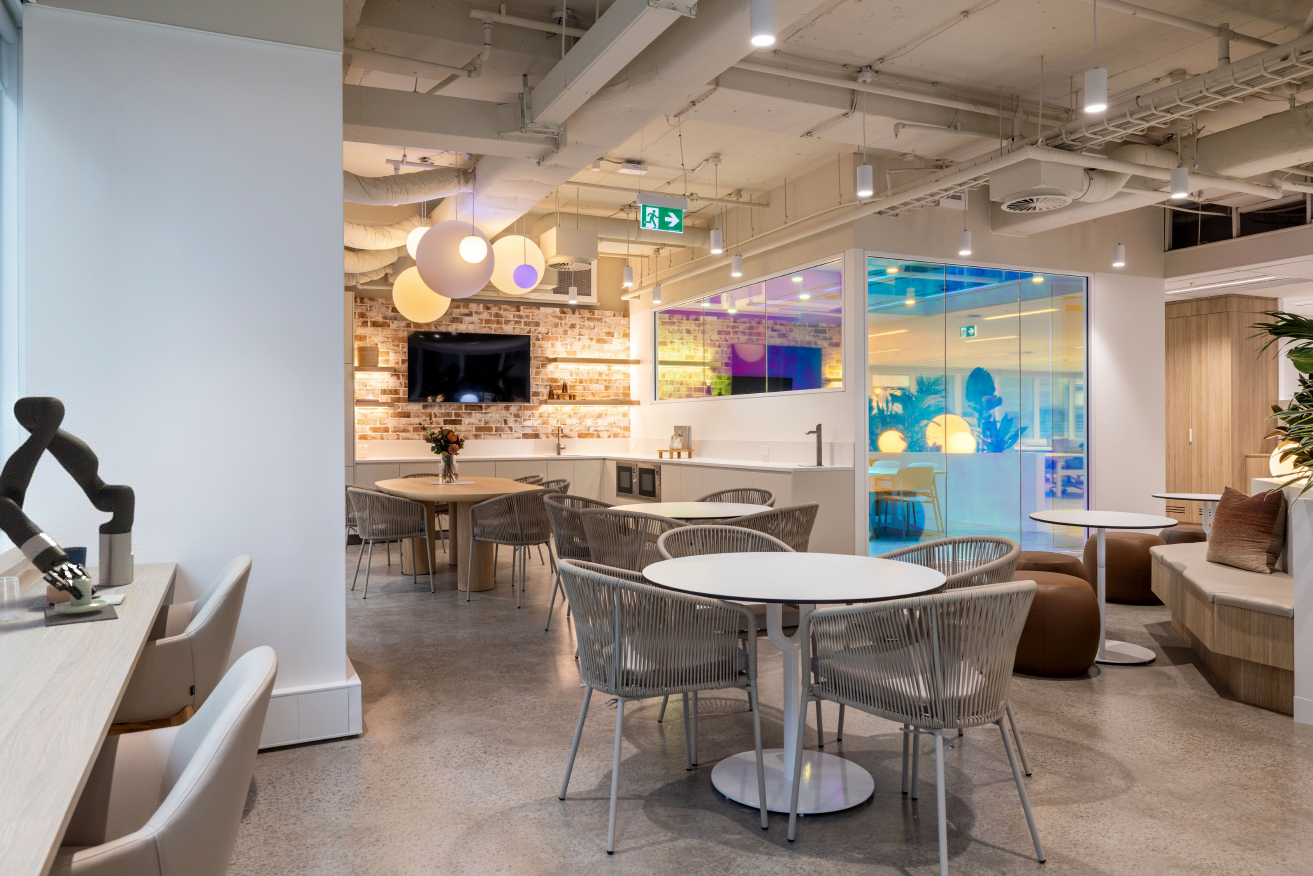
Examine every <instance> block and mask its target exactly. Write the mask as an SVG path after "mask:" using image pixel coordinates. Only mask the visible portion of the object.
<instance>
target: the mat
mask: <svg viewBox="0 0 1313 876" xmlns="http://www.w3.org/2000/svg"><path fill="white" fill-rule="evenodd" d="M104 619H105V620H104ZM106 619H110V620H116V619H119V616H118V613H117V612H116V609H115V607H114V605H113V603H112V604H108V605H106V607H105V608H103V609H100V610H95V611H90V612H82V613H57V612H55V608H47V609H45V620H46V621H45V623H46V627H52V626H53V625H55V626H63V625H62V624H64V625H70V624H71V623H73V624H80V623H79V622H82V623H88V622H87V621H91V622H94V621H93V620H101V621H107V620H106ZM71 625H72V624H71ZM53 627H54V626H53Z"/></svg>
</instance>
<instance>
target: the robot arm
mask: <svg viewBox="0 0 1313 876" xmlns="http://www.w3.org/2000/svg"><path fill="white" fill-rule="evenodd" d="M13 406H14V407H13V414H14V417H15V419H16V421H17V422H18V424H19V425H20V426H21V427H22V428H23V429H25V430H26V431H27V432H28V433H29V434H30V435H29V437H28V438H27V439H26V440H25V441H24V442H23V444H21V445H20V446H19V447H18V448H16V450H15V451H14V452H13V453H12V454H11V455H10V456H9V457H8V459H7V461H6V462H5V464H4V465H3V469H2V470H1V473H0V530H1V531H3V532H4V533H5V535H7V537H8V539H9V540H10V541H11V542H12V544H14V545H15V546H16V547H17V549H19V550H20V551H21V553H22V554H23V556H25V558H26V559H27V560H29V562H30V563H31V564H32V565H33V566H35V567H36V568H37V570H39V571H40V573H41V574H44V576H43V577H42V579H43V580H44V581H45V582H46V583H48V584H49V585H52V586H53V587H55V588H56V589H57V590H59V591H63V590H64V591H66V592H69V593H70V594H71V595H72V596H73V597H74V598H75V599H76V600H81V599H82V598H83V597H84V593H83V592H82V591H81V590H80V589H79V588H77V587H76V586H74V583H73V582H72V579H73V578H74V577H75V576H77V577H76V578H75V579H77V578H92V576H91V575H90V574H89V572H88V571H87V570H86V569H87V568H86V567H85V568H84V567H83V565H82V564H78V565H77V566H74V565H73V564H71V563H70V562H68V557H69V556H68V554H67V553H66V552H65V551H64V550H63V549H62V547H61V546H60V545H59V544H58V543H57V542H56V541H55V540H54V539H53V538H52V537H50V536H49V535H47V533H46V532H44V530H42V529H41V528H40V527H39V526H38V525H37V524H36V523H35V522H33V521H32V520H31V519H30V518H29V517H28V515H26V513H25V512H24V511H23V507H24V503H25V497H26V492H27V489H28V487H29V485H30V483H31V480H32V477H33V475H34V473H35V469H36V467H37V465H38V463H39V461H40V459H41V458H42V457H43V455H44V452H45V451H46V450H47V451H48V452H49V453H50V454H51V455H52V456H53V458H54V459H56V461H57V462H58V463H59V465H60V466H61V467H62V468H63V469H64V470H65V471H66V472H67V473H68V474H69V475H70V477H72V478H73V480H74V481H75V483H76V484H77V485H78V486H79V487H80V488H81V489H82V491H83V493H84V494H85V496H86V497H87V499H88V501H90V503H91V504H92V505H93V506H94V508H95V509H96V510H98V511H100V512H103V513H112V518H111V519H110V520H109V521H106V522H103V523H102V524H100V525H99V526H98V585H99V586H101V587H114V586H116V587H117V586H122V585H128V584H132V583H133V582H134V576H135V575H134V574H135V573H134V567H135V566H134V563H135V562H134V561H135V560H134V556H135V555H134V553H132V530H133V529H132V527H133V525H134V522H135V521H134V519H135V508H136V507H135V505H136V495H135V492H134V489H133V488H132V487H131V486H130V485H127V484H126V485H125V484H108V483H106V482H105V481H104V480H103V479H102V477H100V475H99V474H98V473H99V472H98V471H99V463H100V462H99V459H98V456H97V455H96V453H95V452H94V451H93V450H92V448H91V447H90V446H89V445H88V444H87V443H86V442H85V441H84V440H83V439H81V438H79V437H77V436H75V435H74V434H72V433H70V432H68V431H66V430H64V429H62V428H61V427H60V426H61V424H62V423H63V421H64V418H65V414H66V409H65V405H64V403H63V402H62V400H60V399H59V398H57V397H53V396H26V397H22V398H19V399H17V401H15V403H14V405H13ZM84 575H85V577H84ZM58 584H59V585H58ZM97 592H98V591H97V589H96V588H95V586H93V585H92V597H93V596H94V595H95V594H97Z"/></svg>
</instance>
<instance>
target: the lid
mask: <svg viewBox="0 0 1313 876" xmlns="http://www.w3.org/2000/svg"><path fill="white" fill-rule="evenodd" d="M92 580H93V579H92V577H91V578H77V579H72V582H73V583H74V586H76V587H77V588H79V589H80V590H81V591H82V592H83V593H84V597H83V598H82V599H81V600H76V599H75V598H74V597H73V596H72V595H71V594H70V602H65V603H61V604H58V605H56V606H54V609H55V612H57V613H82V612H90V611H95V610H100V609H103V608H105V607H106V603H107V601H106V600H102V599H92V597H93V596H92V586H93V583H92V582H93V581H92Z"/></svg>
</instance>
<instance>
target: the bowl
mask: <svg viewBox="0 0 1313 876" xmlns="http://www.w3.org/2000/svg"><path fill="white" fill-rule="evenodd" d="M57 584H58V583H57ZM58 585H59V584H58ZM46 601H47V602H49V603H53V602H55V603H65V602H70V593H69V592H66V591H64V590H63V591H59V590H57V589H56V588H55V587H53V586H52V585H51V584H49V585H47V586H46Z"/></svg>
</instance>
